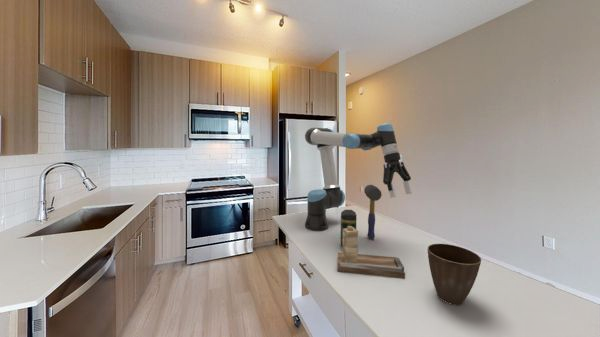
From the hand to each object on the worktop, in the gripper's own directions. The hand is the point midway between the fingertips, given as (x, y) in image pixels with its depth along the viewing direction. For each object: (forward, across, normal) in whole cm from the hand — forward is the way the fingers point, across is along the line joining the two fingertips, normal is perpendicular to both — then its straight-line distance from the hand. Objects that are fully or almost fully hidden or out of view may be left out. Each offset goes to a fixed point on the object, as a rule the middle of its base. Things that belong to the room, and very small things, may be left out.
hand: (401, 195), depth 111 cm
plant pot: (+35, -20, -21) cm, 46 cm away
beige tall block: (+23, -32, +11) cm, 41 cm away
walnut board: (+26, -26, +7) cm, 38 cm away
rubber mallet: (+21, 0, +24) cm, 32 cm away
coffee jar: (+21, -18, +25) cm, 37 cm away
